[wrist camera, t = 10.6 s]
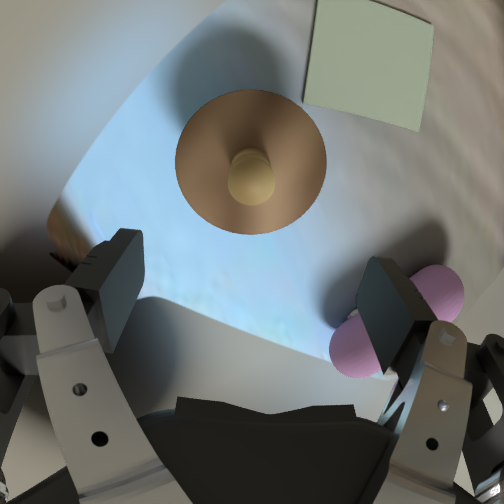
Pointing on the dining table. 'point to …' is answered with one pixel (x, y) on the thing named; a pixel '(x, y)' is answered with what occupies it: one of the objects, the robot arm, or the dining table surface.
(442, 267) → the toy
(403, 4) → the dining table surface
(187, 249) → the dining table surface
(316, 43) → the mat
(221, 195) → the lid
